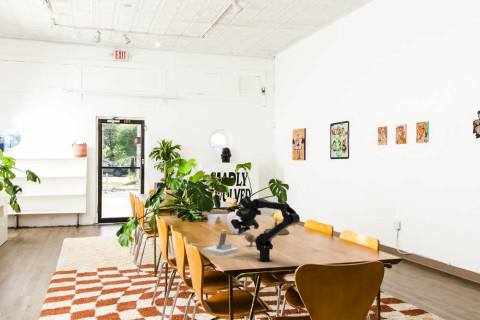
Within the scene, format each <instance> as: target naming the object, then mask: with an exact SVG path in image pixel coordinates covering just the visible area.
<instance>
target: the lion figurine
mask: <svg viewBox="0 0 480 320" xmlns="http://www.w3.org/2000/svg"><path fill="white" fill-rule="evenodd" d="M256 238H257V236H254V235H253V234H252V233H249V232H247V233H245V234H244V239H245V240H246V241H247V242H248V243H250V245H249V247H250V248H252V247H253V244H254V243H255V239H256Z"/></svg>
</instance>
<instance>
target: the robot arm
mask: <svg viewBox="0 0 480 320" xmlns="http://www.w3.org/2000/svg"><path fill="white" fill-rule="evenodd" d="M239 204H240V206H242V208H243V210H236V212H235V213H236V214H235V216H236V215H237V216H239V218H240V220H241V221H239V220H238V219H232V220H231V219H230V220H231V225H233V226H232V227H234V228H235V229H239V230H238V232H237V233H238V234H237V235H242V234H243V232H244V233H245V232H247V231H249V230H250V231H251V227H253V229H254V230H258V229H259V227H260V225H259V223H258V221H257V220H256V217H257V216H261V215H262V211H261V210H260V209H271V210H278V211H280V212H281V216H282V220H281V222H279V223H280V224H279V223H277V226H276V227H275V228H273V229H272V228H271V229H272V230H271V231H269V232H268V233H264V232H262V233H260V234H259V235H257V236H256V237H257V238H256V239H255V242H254V243H255V247H256V250H257V251H259V258H257V260H258V261H259V262H272V259H271V257H270V256H271V255H270V253H271V250H273V249H274V245H273V244H272V241H273V239H275V238H276V237H277V236H279V235H278V234H280V233H281V232H282V231H284V230H285V229H286V230H287V229H288V228H289V227H292V226H294V225H297V224H299V223H300V221H301V220H300V219H301V217H300V215H299V214H298V213H297V212H296V211H295V209H293V208H292V207H291V206H290V204H289V203H287V202H277V201H276V202H275V201H269V200H268V199H265V198H253V200H251V198H250V197H249V196H248V195H245V196H243V198H241V199H240V200H239ZM244 210H245V211H244ZM246 211H247V212H246Z"/></svg>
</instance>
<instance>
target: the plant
mask: <svg viewBox="0 0 480 320" xmlns="http://www.w3.org/2000/svg"><path fill="white" fill-rule="evenodd" d="M274 220H275V222H274V223H273V225H271V228H265V230H263V233H268V232H269V231H271V230H272V229H273V228H275V227H276V226H277V225H278V224H280V223H281V222H279V223H278V222H277V221H278V219H277V218H276V219H274ZM289 234H290V231H289V230H288V229H287V228H286V229H285V230H284V231H282V232H281V233H280V234H278V235H277V236H280V237H281V236H288V235H289Z"/></svg>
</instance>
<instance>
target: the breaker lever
mask: <svg viewBox="0 0 480 320" xmlns="http://www.w3.org/2000/svg"><path fill="white" fill-rule="evenodd" d="M227 232H228V230H227V229H221V231H220V236H219V240H218V241H219V242H218V245H219V248H222V245H225V244H226V238H227V234H228V233H227Z"/></svg>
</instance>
